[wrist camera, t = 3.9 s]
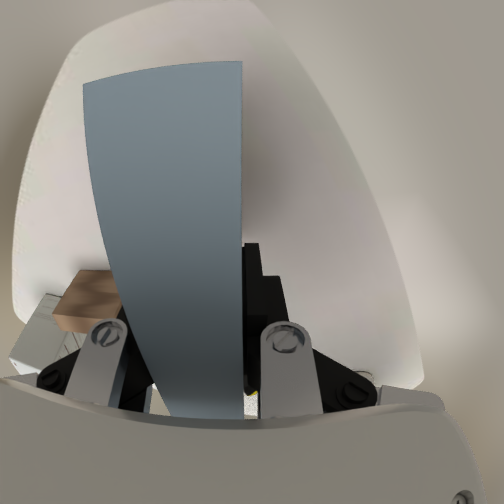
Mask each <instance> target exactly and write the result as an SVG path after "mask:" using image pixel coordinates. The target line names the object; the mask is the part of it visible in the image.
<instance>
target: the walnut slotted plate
mask: <svg viewBox="0 0 504 504" xmlns="http://www.w3.org/2000/svg"><path fill="white" fill-rule="evenodd" d="M121 306H122V302H121V299H120V296H119V293H118V290H117V287H116V284H115V281H114V277H113V274H112V271H94V270H80V271H79V272H78V274H77V275H76V276H75V278H74V279H73V281H72V282H71V284H70V285H69V287H68V288H67V290H66V291H65V293H64V295H63V296H62V298H61V299H60V301H59V302H58V304H57V306H56V307H55V309H54V311H53V312H52V316H53V318H54V319H55V321H56V323H57V325H58V327H59V328H60V330H62V331H69V332H76V333H83V334H87V333H88V331H89V330H90V328H91V327H92V326H93V325H94V324H95V323H97V322H99V321H100V320H103V319H107V318H115V319H116V317H117V315H118V313H119V311H120V308H121Z"/></svg>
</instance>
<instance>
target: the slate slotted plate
mask: <svg viewBox="0 0 504 504" xmlns="http://www.w3.org/2000/svg"><path fill="white" fill-rule="evenodd" d="M83 108H84V125H85V137H86V147H87V155H88V163H89V170H90V177H91V183H92V189H93V195H94V200H95V205H96V210H97V215H98V220H99V224H100V229H101V233H102V237H103V241H104V245H105V249H106V253H107V257H108V260H109V264H110V267H111V271H112V274H113V277H114V281H115V284H116V287H117V290H118V293H119V296H120V299H121V302H122V305H123V308H124V311H125V314H126V316H127V319H128V322H129V324H130V327H131V330H132V332H133V335H134V337H135V340H136V342H137V345H138V347H139V350H140V352H141V354H142V357H143V359H144V361H145V363H146V366H147V368H148V370H149V372H150V374H151V377H152V379H153V381H154V383H155V385H156V387H157V389H158V391H159V393H160V395H161V397H162V399H163V401H164V403H165V405H166V407H167V409H168V410H169V412H170V414H171V416H173V417H185V418H200V419H244V389H243V335H242V237H241V141H242V61H223V62H203V63H190V64H180V65H172V66H164V67H157V68H151V69H145V70H139V71H134V72H129V73H124V74H120V75H115V76H111V77H107V78H103V79H99V80H96V81H92V82H89V83H85V84H83Z"/></svg>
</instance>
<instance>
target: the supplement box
mask: <svg viewBox="0 0 504 504" xmlns="http://www.w3.org/2000/svg"><path fill="white" fill-rule="evenodd" d="M60 299H61V298H60V297H56V296H52V295H48V294H45V296H44V297H43V299H42V300H41V302H40V303H39V305H38V306H37V308H36V310H35V311H34V313H33V314H32V316H31V318H30V319H29V321H28V322H27V324H26V326H25V328H24V329H23V331H22V333H21V335H20V336H19V338H18V340H17V342H16V343H15V345H14V347H13V349H12V351H11V353H10V355H9V359H10V360H11V362H12V364H13V365H14V367H15V368H16V369H17V371H18V372H19V373H20V375H24V374H29V373H35V372H37V373H38V374H39V373H40V372H41V371H42V370H43V369H44V368H45V367H47V366H48V365H50V364H52V363H54V362H56V361H58V360H59V359H61V358H63V357H65V356H67V355H69V354H71V353H72V352H74V351H76V350H78V349H80V348H82V345H83V343H84V340H85V338H86V336H87V334H83V333H76V332H69V331H62V330H60V328H59V327H58V325H57V323H56V321H55V319H54V318H53V316H52V312H53V311H54V309H55V307H56V306H57V304H58V302H59V301H60Z"/></svg>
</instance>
